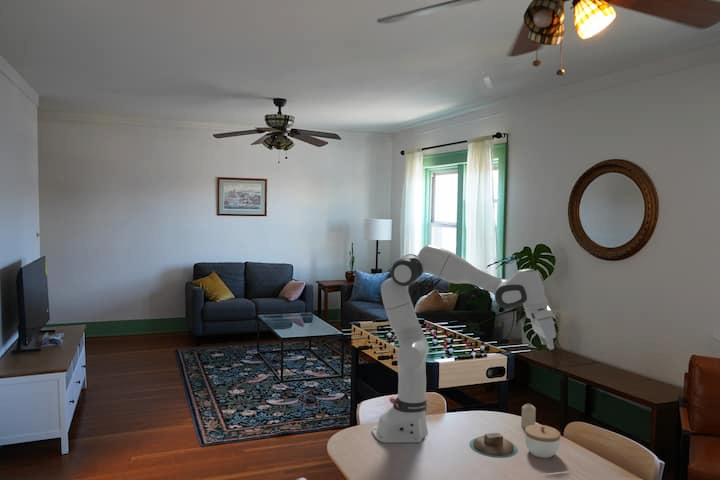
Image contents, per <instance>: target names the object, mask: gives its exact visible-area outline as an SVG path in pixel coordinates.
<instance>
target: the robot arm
mask: <svg viewBox="0 0 720 480" xmlns="http://www.w3.org/2000/svg"><path fill="white" fill-rule="evenodd" d="M423 274H431V275H433V276H434V277H436V278H438V279H440V280H444V281H446V282H448V283H451V284H455V285H457V284H458V285H459V284H460V285H461V284H470V285H473V286H476V287H478V288H479V289H483V290H485V291H487V292H489V293H491V294H492V295H494V300H495V302H496V304H497V305H498V306H499V307H500V308H502V309H504V310H505V309H507V310H510V309H515V308H516V307H518V306H521V305H523V308H524V312H525V314H526V318H527V319H530V322H531V326H532V330H533V332H534V333H536V334H537V335H538V337H539V339H540V342H541V345H543V346H546V345H547V348H548V350H550V351H551V350H554V349H555V345H554V339H556V338H557V332H556V327H555V322H554V319H553V316H554V312H553V311H552V309H551V307H550V304H549V301H548V298H547V296H546V293H545V286H544V283H543V279H542V277H541V275H540V274H539V271H537V270H535V269H534V268H523V269H519V270H516V272H515V273H514V274H513V275H512V276H511V277H509V278H500V277H499V278H498V277H496V276H493V275H491V274H490V273H487V272H485V271H484V270H483V271H482V270H480V269H479V268H477V267H475V266H474V265H472V264H471V263H470V262H469V261H468V260H465V259H464V258H463V257H461V256H459V255H457V254H456V253H453V252H452V251H449V250H447V249H445V248H443V247H439V246H436V245H432V244H427V245H424V246H423V247H422V248H421V249H420V250H419V252H418V254H417V255H416V254H413V253H412V254H409V253H408V254H405V255H402V256H400V257H399V258H398V259H397V260H396V261H395V262H394V263H393V264H392V265H391V269H390V275H391V276H390V277H389V278H387V279H385V280H384V281H382V283H381V285H380V293H381V294H380V295H381V298H382V303H383V304H382V305H383V306H384V308H383V309H384V311H385V314H386V316H387V319H388V323H389V325H390V329H391V330H392V331H393V333H394V335H395V337H396V338H397V341H398V344H399V347H398V350H397V353H396V354H397V355H396V357H397V375H398V384H397V385H398V386H397V390H398V391H397V397H396V398H394V397H393V396H391V397H390V398H389V402H390V403H392V406H391V408H389V409H388V410H386V411H385V412H384V413H383V414H381V415H380V416H379V419H378V424H377V425H375V426H373V427H372V429H371V430H372V431H371V432H372V433H371V434H372V435H373V436H374V438H375V439H377V440H378V441H380V442H381V443H384V444H385V443H386V444H388V443H389V444H390V443H391V444H392V443H395V444H397V443H398V444H401V443H402V444H403V443H407V444H408V443H421V442H423V439H425V438H426V437H427V436H428V435H429V431H428V426H427V415H426V413H427V407H428V405H427V398H426V397H427V396H426V395H427V394H426V393H427V373H426V370H427V369H426V368H427V367H426V364H427V363H426V362H427V355H428V353H429V350H430V349H429V348H430V347H429V343H428V340H427V337H426V335H425V332H424V330H423V329H422V326H421V324H420V322H419V320H418V317H417V316H418V315H417V314H416V311H415V307H414V304H413V302H412V298H411V296H410V293H409V287H410V286H412V285H413V284H414V283H416V282H418V280H419V279H421V278H420V277H422V275H423Z"/></svg>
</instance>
